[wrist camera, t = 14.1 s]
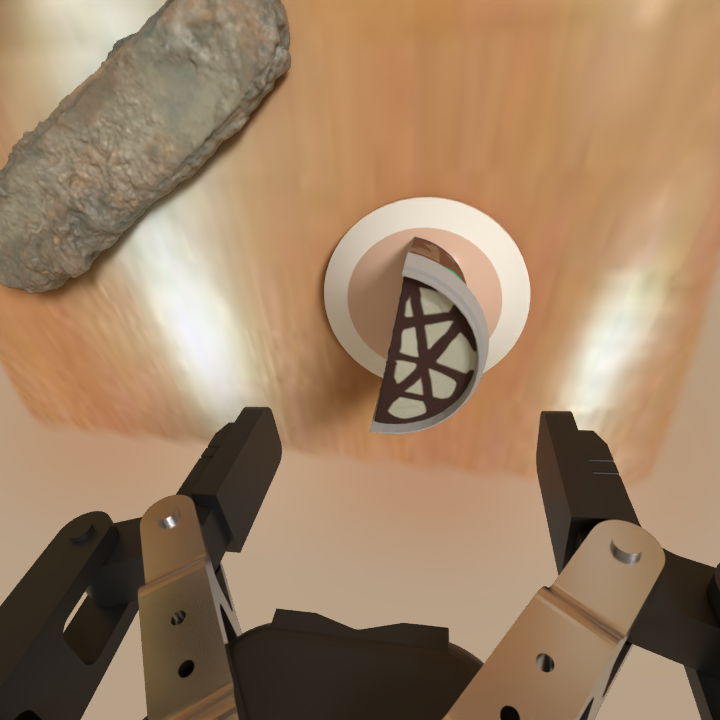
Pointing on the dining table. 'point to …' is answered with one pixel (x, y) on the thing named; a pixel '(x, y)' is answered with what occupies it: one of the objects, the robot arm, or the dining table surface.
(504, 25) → the dining table surface
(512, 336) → the dish
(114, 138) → the elongated rock
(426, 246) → the food container
